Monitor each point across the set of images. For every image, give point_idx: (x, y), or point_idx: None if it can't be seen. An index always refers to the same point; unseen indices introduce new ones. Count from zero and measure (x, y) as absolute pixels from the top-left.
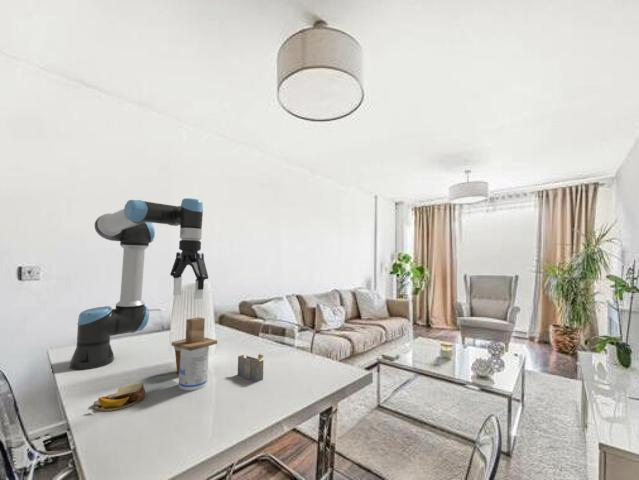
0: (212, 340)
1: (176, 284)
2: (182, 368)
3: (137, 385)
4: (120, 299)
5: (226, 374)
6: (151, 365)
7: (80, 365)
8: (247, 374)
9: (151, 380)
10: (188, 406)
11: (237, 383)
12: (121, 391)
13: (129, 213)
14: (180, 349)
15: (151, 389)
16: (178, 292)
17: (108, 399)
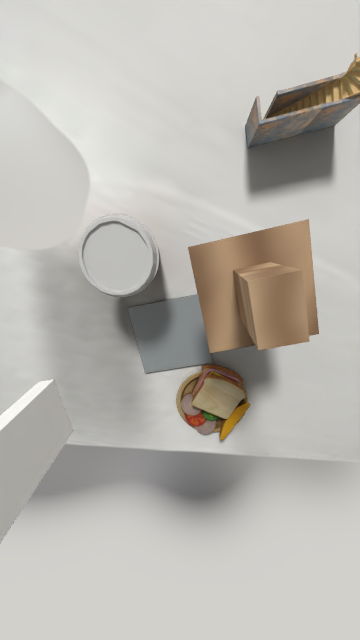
0: (294, 235)
1: (7, 502)
2: None
3: (216, 386)
4: None
5: (220, 172)
6: (34, 298)
7: None
8: (293, 132)
9: (144, 331)
10: (321, 319)
11: (299, 180)
12: (215, 408)
13: None
14: (144, 286)
15: (195, 346)
16: (51, 413)
17: (225, 424)
